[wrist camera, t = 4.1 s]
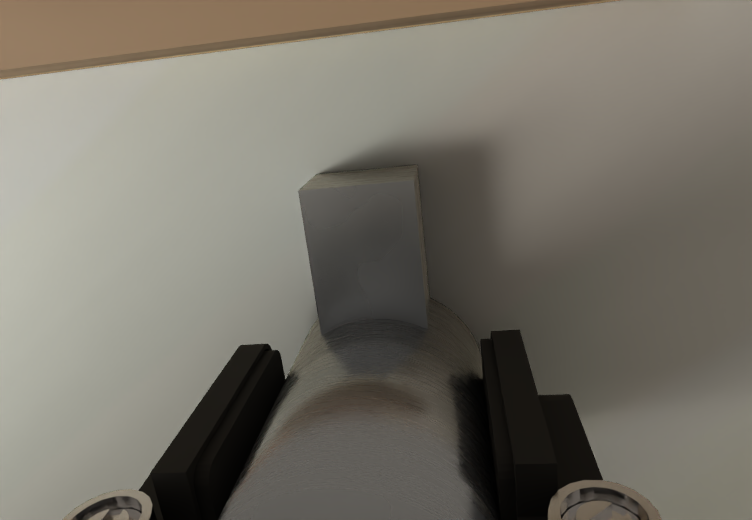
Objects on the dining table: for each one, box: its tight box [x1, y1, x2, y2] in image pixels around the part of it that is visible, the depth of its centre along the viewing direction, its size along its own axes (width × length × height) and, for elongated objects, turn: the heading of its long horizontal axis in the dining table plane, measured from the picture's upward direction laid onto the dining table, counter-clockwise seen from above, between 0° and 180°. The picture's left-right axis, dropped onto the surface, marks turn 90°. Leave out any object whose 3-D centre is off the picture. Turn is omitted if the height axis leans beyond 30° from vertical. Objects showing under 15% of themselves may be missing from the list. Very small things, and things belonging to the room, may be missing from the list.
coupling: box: [218, 165, 500, 520], centre depth 10 cm, size 9×4×6 cm, turn 7°
